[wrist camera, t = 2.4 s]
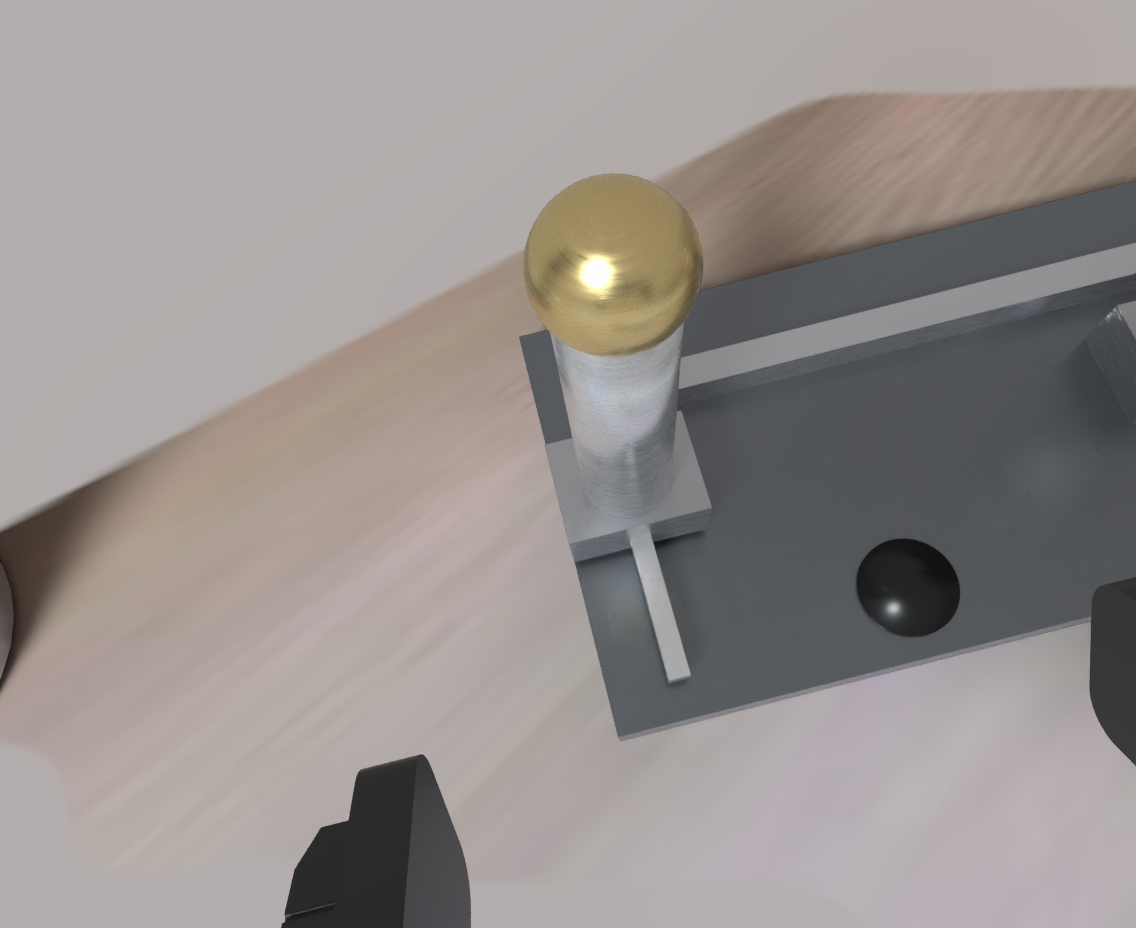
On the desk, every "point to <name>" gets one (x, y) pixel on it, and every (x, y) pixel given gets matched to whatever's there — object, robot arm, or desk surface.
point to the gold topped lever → (621, 374)
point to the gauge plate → (882, 464)
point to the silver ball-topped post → (1118, 355)
